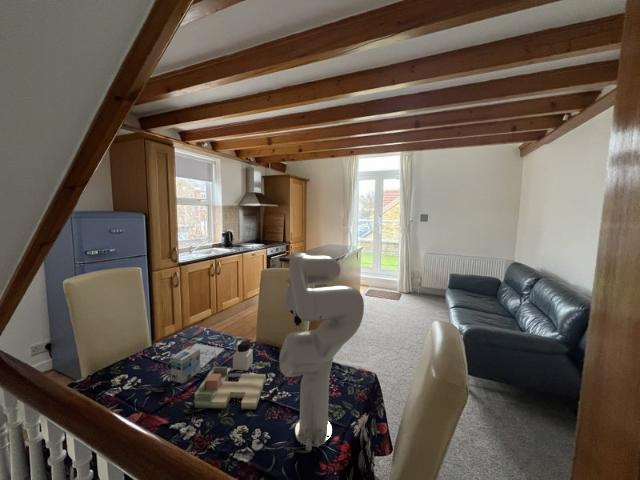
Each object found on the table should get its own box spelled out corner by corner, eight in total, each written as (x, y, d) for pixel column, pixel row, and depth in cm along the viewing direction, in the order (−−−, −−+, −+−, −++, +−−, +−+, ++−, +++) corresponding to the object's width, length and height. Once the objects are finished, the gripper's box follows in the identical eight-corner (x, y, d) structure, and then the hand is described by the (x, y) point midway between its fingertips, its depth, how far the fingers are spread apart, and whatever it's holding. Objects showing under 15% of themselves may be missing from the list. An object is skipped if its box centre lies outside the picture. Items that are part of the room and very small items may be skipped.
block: (217, 390, 106) (217, 380, 106) (206, 389, 106) (206, 380, 106) (221, 383, 111) (221, 373, 110) (210, 382, 111) (210, 373, 110)
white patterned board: (168, 364, 128) (167, 360, 128) (196, 345, 148) (196, 341, 148) (201, 370, 124) (201, 366, 124) (226, 350, 143) (226, 346, 143)
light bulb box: (182, 384, 113) (182, 360, 112) (170, 380, 115) (169, 357, 114) (201, 370, 123) (200, 348, 122) (189, 367, 125) (189, 345, 124)
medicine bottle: (252, 362, 131) (252, 339, 130) (247, 371, 124) (247, 346, 123) (238, 361, 132) (238, 338, 130) (232, 369, 124) (232, 345, 123)
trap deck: (255, 409, 100) (255, 395, 99) (194, 407, 100) (194, 393, 99) (265, 379, 118) (265, 367, 117) (213, 378, 118) (213, 366, 117)
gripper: (279, 284, 107) (278, 327, 109) (316, 285, 107) (315, 328, 109) (282, 279, 114) (281, 320, 116) (316, 280, 114) (315, 321, 116)
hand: (297, 324), depth 112 cm, fingers closed
